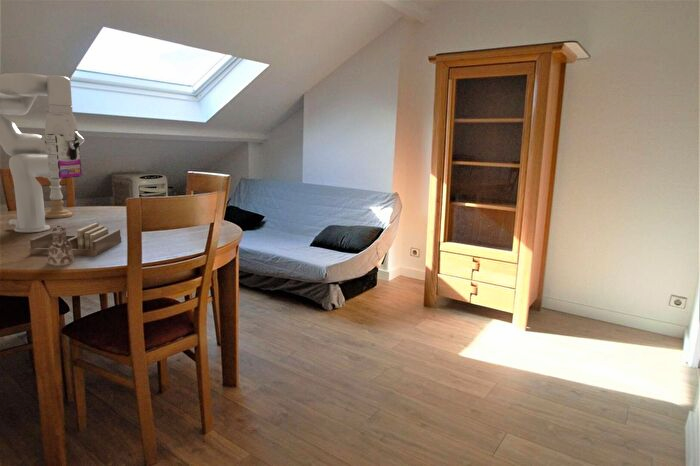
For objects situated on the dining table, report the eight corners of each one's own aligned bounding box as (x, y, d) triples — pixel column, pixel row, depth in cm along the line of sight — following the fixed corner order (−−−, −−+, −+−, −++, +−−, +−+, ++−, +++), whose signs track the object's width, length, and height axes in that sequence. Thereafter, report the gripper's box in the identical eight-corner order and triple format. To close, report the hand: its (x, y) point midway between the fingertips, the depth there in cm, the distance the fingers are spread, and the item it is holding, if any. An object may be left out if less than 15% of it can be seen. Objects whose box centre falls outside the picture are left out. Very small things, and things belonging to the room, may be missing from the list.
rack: (30, 254, 161) (28, 240, 160) (63, 239, 183) (62, 227, 182) (95, 256, 163) (95, 242, 162) (121, 241, 185) (120, 229, 184)
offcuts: (78, 252, 166) (76, 230, 164) (96, 243, 180) (94, 222, 178) (94, 252, 167) (92, 230, 165) (110, 243, 180) (109, 223, 179)
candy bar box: (71, 175, 185) (68, 133, 182) (82, 176, 184) (79, 134, 181) (48, 178, 175) (44, 133, 171) (59, 179, 174) (56, 134, 170)
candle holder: (62, 219, 221) (59, 176, 217) (36, 217, 221) (32, 175, 217) (77, 214, 233) (75, 174, 229) (53, 213, 233) (50, 172, 229)
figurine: (46, 266, 149) (43, 229, 146) (50, 260, 155) (47, 225, 153) (72, 264, 152) (69, 228, 149) (75, 259, 158) (72, 224, 156)
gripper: (30, 108, 170) (34, 158, 174) (80, 111, 171) (83, 161, 175) (42, 109, 177) (46, 157, 181) (89, 112, 179) (92, 159, 183)
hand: (64, 158), depth 178 cm, fingers closed on candy bar box, 5 cm apart
